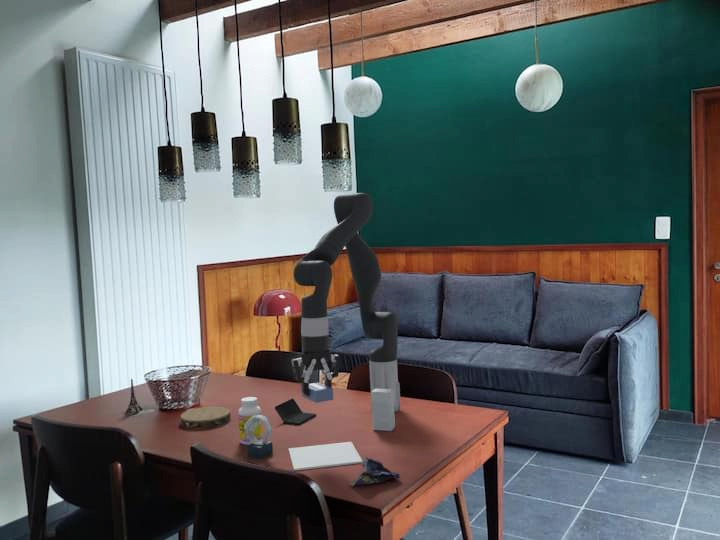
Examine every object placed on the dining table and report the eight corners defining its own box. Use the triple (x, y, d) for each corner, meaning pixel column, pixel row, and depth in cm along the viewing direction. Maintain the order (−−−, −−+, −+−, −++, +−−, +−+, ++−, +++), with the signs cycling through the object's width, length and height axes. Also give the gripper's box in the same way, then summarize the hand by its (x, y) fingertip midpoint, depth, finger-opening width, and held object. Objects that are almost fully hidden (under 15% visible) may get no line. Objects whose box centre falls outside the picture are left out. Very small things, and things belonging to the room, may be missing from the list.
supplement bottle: (235, 442, 189) (232, 399, 188) (252, 436, 194) (250, 394, 193) (250, 447, 184) (247, 403, 184) (267, 440, 189) (265, 397, 189)
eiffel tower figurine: (120, 421, 217) (117, 383, 216) (107, 416, 224) (104, 379, 223) (160, 411, 228) (158, 374, 227) (147, 406, 235) (144, 370, 234)
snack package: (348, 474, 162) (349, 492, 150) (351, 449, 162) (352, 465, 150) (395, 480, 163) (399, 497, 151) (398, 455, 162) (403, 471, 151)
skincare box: (395, 427, 197) (393, 388, 196) (391, 431, 193) (389, 392, 192) (376, 426, 199) (374, 388, 198) (372, 430, 195) (370, 391, 194)
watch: (255, 449, 182) (253, 411, 181) (277, 453, 178) (275, 414, 177) (242, 455, 177) (239, 416, 177) (264, 460, 173) (262, 420, 172)
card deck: (333, 399, 174) (332, 387, 174) (316, 402, 172) (315, 390, 171) (318, 393, 182) (318, 382, 182) (301, 396, 179) (301, 384, 179)
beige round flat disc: (237, 423, 209) (236, 414, 209) (188, 433, 201) (188, 423, 201) (221, 412, 223) (221, 403, 222) (175, 421, 215) (174, 412, 214)
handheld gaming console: (305, 421, 202) (287, 395, 205) (288, 434, 204) (271, 408, 206) (318, 415, 213) (301, 391, 215) (302, 428, 214) (286, 403, 217)
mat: (351, 443, 184) (351, 441, 184) (362, 462, 168) (362, 461, 168) (288, 450, 180) (288, 448, 180) (294, 470, 165) (293, 468, 164)
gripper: (294, 337, 170) (296, 400, 170) (344, 332, 175) (346, 393, 176) (286, 333, 177) (288, 394, 177) (334, 329, 182) (336, 388, 183)
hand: (317, 394), depth 177 cm, fingers closed on card deck, 5 cm apart
